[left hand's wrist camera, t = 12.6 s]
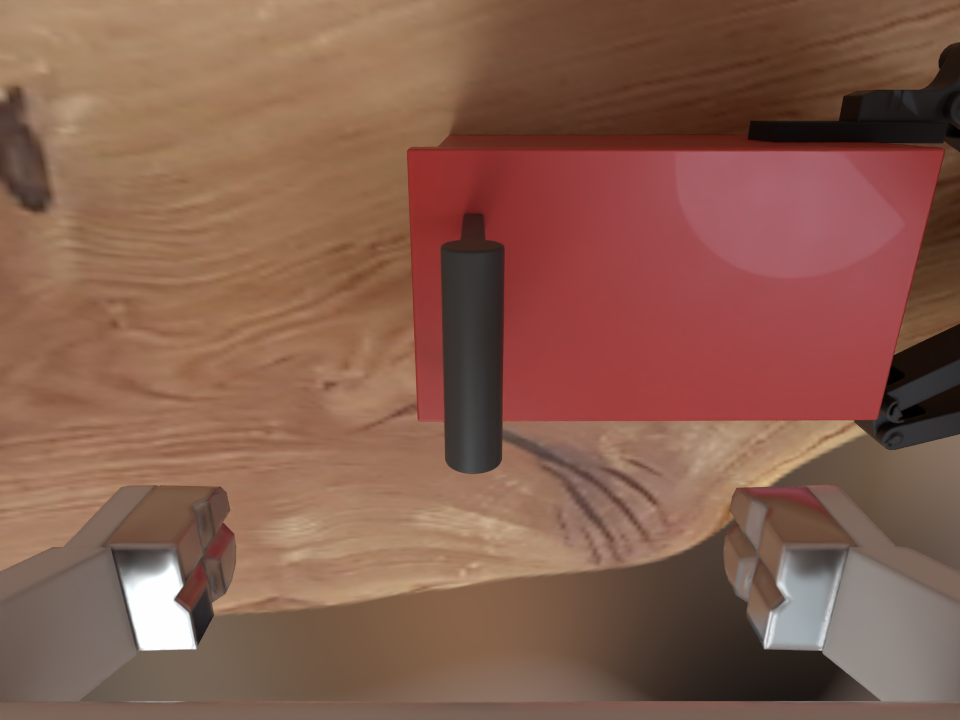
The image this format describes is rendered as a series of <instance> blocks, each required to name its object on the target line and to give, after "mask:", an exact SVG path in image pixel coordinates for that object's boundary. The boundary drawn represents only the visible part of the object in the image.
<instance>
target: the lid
mask: <svg viewBox="0 0 960 720" xmlns="http://www.w3.org/2000/svg"><path fill="white" fill-rule="evenodd" d="M944 153H945V149H943V148H934V147H922V146H908V147H411V148H410V149H408V150H407V164H408V189H409V213H410V238H411V263H412V288H413V313H414V338H415V363H416V388H417V413H418V420H419V421H444V426H445V460H446V462H447V464H448V465H449V467H451V468H452V469H454V470H456V471H459V472H462V473H469V474H478V473H485V472H488V471H491V470H493V469H495V468H496V467H497V466H498V465H499V464H500V463H501V460H502V421H711V420H877V419H878V415H879V411H880V407H881V403H882V399H883V395H884V391H885V387H886V383H887V379H888V375H889V371H890V368H891V364H892V360H893V356H894V352H895V348H896V344H897V340H898V336H899V332H900V328H901V324H902V320H903V316H904V312H905V308H906V304H907V300H908V296H909V292H910V288H911V284H912V280H913V276H914V272H915V268H916V264H917V260H918V256H919V252H920V248H921V244H922V240H923V236H924V232H925V229H926V225H927V221H928V217H929V213H930V209H931V205H932V201H933V197H934V193H935V189H936V185H937V181H938V177H939V173H940V169H941V165H942V161H943V157H944Z"/></svg>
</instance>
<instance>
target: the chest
mask: <svg viewBox="0 0 960 720" xmlns="http://www.w3.org/2000/svg"><path fill="white" fill-rule="evenodd" d="M908 146H911V145H899V144H888V143H876V142H768V141H759V140H750V139H748V135H449V136H448V137H447V138H446V139H445V140H444V141H443V142H442V143H441V144H440V145H439V146H438V147H908Z"/></svg>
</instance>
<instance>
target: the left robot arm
mask: <svg viewBox="0 0 960 720" xmlns="http://www.w3.org/2000/svg"><path fill="white" fill-rule="evenodd" d="M229 511H230V507H229V502H228V497H227V493H226V492H225V491H224V490H223V489H222V488H221V487H207V486H156V485H132V486H125V487H121V488H120V489H119V490H118V491H117V492H116V493H115V494H114V495H113V496H112V497H111V498H110V499H109V500H108V501H107V502H106V503H105V504H104V506H103V507H102V508H101V509H100V510H99V511H98V512H97V513H96V514H95V515H94V516H93V517H92V518H91V519H90V520H89V521H88V522H87V523H86V524H85V525H84V526H83V527H82V528H81V529H80V530H79V532H78V533H77V534H76V535H75V536H74V537H73V538H72V539H71V540H70V541H69V542H68V543H67V544H66V545H65V546H64V547H52V548H50V549H48V550H46V551H44V552H41V553H39V554H37V555H35V556H33V557H31V558H28V559H26V560H24V561H22V562H20V563H18V564H16V565H13V566H11V567H9V568H7V569H5V570H3V571H0V720H960V572H959V571H957V570H955V569H953V568H951V567H949V566H947V565H944V564H942V563H940V562H938V561H936V560H934V559H931V558H929V557H927V556H925V555H923V554H921V553H918V552H916V551H914V550H912V549H910V548H908V547H896V546H895V545H894V544H893V543H892V542H891V541H890V540H889V539H888V538H887V537H886V536H885V535H884V534H883V532H882V531H881V530H880V529H879V528H878V527H877V526H876V525H875V524H874V523H873V522H872V521H871V520H870V519H869V518H868V517H867V516H866V515H865V514H864V513H863V512H862V511H861V510H860V509H859V507H858V506H857V505H856V504H855V503H854V502H853V501H852V500H851V499H850V498H849V497H848V496H847V495H846V494H845V493H844V492H843V491H842V490H841V489H840V488H838V487H836V486H833V485H815V486H792V487H751V488H736V490H735V492H734V494H733V496H732V501H731V507H730V511H731V513H732V515H733V516H734V518H735V520H736V521H737V523H736V524H735V525H734V526H733V527H732V528H731V529H730V530H729V531H728V532H727V533H726V537H725V544H724V562H725V571H726V574H727V577H728V581H729V583H730V585H731V587H732V589H733V591H734V593H735V594H736V595H737V596H739V597H740V598H742V599H743V600H745V601H746V602H748V607H747V613H746V616H747V618H748V620H749V622H750V623H751V625H752V627H753V629H754V631H755V633H756V635H757V636H758V638H759V640H760V642H761V644H762V646H763V648H764V649H785V650H821V651H823V654H824V655H825V656H827V657H828V658H829V659H831V660H832V661H833V662H834V663H835V664H837V665H838V666H839V667H840V668H842V669H843V670H844V671H845V672H847V673H848V674H849V675H850V676H852V677H853V678H854V679H855V680H856V681H858V682H859V683H860V684H861V685H863V686H864V687H865V688H866V689H868V690H869V691H870V692H871V693H873V694H874V695H875V696H876V697H878V698H879V699H880V700H881V701H432V702H431V701H425V702H424V701H418V702H417V701H407V702H405V701H401V702H400V701H79V700H80V699H81V698H83V697H84V696H85V695H86V694H87V693H89V692H90V691H91V690H93V689H94V688H95V687H96V686H98V685H99V684H100V683H101V682H102V681H104V680H105V679H106V678H107V677H109V676H110V675H111V674H112V673H114V672H115V671H116V670H117V669H119V668H120V667H121V666H122V665H124V664H125V663H126V662H127V661H129V660H130V659H131V658H132V657H134V656H135V655H136V654H137V651H139V650H174V649H196V648H197V646H198V644H199V642H200V640H201V638H202V637H203V635H204V633H205V631H206V629H207V627H208V625H209V623H210V622H211V620H212V618H213V616H214V613H213V607H212V602H214V601H215V600H217V599H218V598H220V597H221V596H223V595H224V594H225V593H226V591H227V589H228V587H229V585H230V583H231V581H232V578H233V573H234V569H235V564H236V543H235V536H234V533H233V532H232V531H231V530H230V529H229V528H228V527H227V526H226V525H225V524H224V523H223V521H224V520H225V518H226V516H227V515H228V513H229Z"/></svg>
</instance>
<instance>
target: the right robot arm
mask: <svg viewBox="0 0 960 720" xmlns="http://www.w3.org/2000/svg"><path fill="white" fill-rule="evenodd" d="M939 68H940V70H939V72H938V74H937V76H936V77H935V79H934V80H933V82H931V83H930V84H929V85H928V86H927V87H925V88H923V89H921V90H863V91H855V92H853V93H850V94H848V95H845V96H844V97H843V102H842V107H841V112H840V118H839V121H750V127H749V134H748V139H750V140H759V141H768V142H876V143H943V142H944V141H945V142H947V143H948V144H949V145H951V146H952V147H953V148H955V149H956V150H958V151H959V152H960V42H959V43H954V44H951V45H949V46H948V47H947V48H945V49H944V51H943V52H942V53H941V55H940V58H939ZM854 421H855V423H856V424H857V425H858V426H860V427H861V428H862V429H863V430H864V431H865V432H867V433H868V434H869V435H870V436H871V437H873V438H874V439H875V440H876V441H877V442H879V443H880V444H881V445H883V446H884V447H885V448H886V449H889V450H896V449H900V448H904V447H908V446H913V445H917V444H921V443H925V442H929V441H933V440H937V439H942V438H946V437H950V436H954V435H958V434H960V324H958V325H956V326H954V327H952V328H950V329H948V330H946V331H944V332H941V333H939V334H937V335H935V336H933V337H931V338H929V339H927V340H925V341H923V342H920V343H918V344H916V345H914V346H912V347H910V348H908V349H906V350H904V351H902V352H899V353H897V354H895V355H894V356H893V360H892V364H891V368H890V371H889V375H888V379H887V383H886V387H885V391H884V395H883V399H882V403H881V407H880V411H879V415H878V419H877V420H854Z"/></svg>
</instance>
